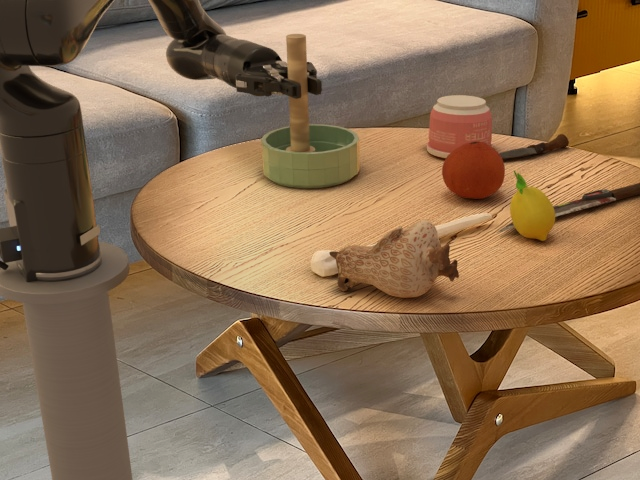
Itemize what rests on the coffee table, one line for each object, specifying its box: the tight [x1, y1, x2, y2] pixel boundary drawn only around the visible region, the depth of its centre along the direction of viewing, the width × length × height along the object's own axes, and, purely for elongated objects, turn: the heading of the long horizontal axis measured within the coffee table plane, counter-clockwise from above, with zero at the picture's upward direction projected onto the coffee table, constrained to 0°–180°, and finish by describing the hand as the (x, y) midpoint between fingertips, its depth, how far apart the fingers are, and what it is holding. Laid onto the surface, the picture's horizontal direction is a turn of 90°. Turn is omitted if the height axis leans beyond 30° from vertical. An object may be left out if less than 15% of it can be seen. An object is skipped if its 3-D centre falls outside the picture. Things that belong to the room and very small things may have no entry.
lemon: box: [509, 170, 556, 242], centre depth 141 cm, size 7×6×10 cm
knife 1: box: [498, 133, 570, 160], centre depth 172 cm, size 17×2×5 cm
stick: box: [285, 33, 315, 152], centre depth 160 cm, size 4×4×18 cm
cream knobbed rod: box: [310, 212, 493, 278], centre depth 139 cm, size 28×4×3 cm, turn 128°
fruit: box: [441, 141, 506, 200], centre depth 154 cm, size 9×9×8 cm
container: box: [426, 94, 494, 159], centre depth 172 cm, size 10×10×8 cm
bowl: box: [260, 123, 361, 189], centre depth 164 cm, size 14×14×6 cm
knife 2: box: [496, 182, 640, 234], centre depth 150 cm, size 3×2×30 cm
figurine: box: [330, 219, 460, 299], centre depth 127 cm, size 9×10×15 cm
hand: (309, 89), depth 157 cm, fingers closed on stick, 3 cm apart
